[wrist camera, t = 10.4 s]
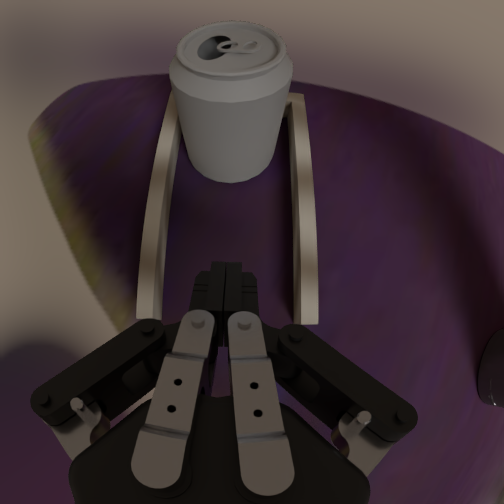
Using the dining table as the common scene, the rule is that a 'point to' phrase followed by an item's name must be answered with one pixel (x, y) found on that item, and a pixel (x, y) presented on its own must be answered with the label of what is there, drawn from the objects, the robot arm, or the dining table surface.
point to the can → (230, 97)
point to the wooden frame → (301, 215)
